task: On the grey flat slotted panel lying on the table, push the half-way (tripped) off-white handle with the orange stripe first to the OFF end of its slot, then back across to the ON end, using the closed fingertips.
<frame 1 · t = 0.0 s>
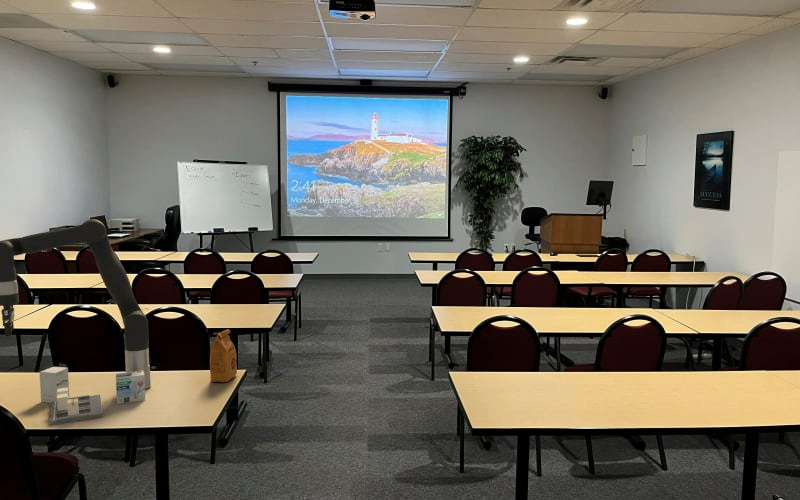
hand: (9, 333, 230), 29 cm above the table, fingers open, 8 cm apart
grey flat slotted panel: (76, 411, 229), on the table
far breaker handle: (63, 395, 232), point 4 cm above the table, slide at 7.0 cm
light bulb box: (131, 400, 241), on the table
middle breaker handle: (62, 402, 226), point 4 cm above the table, slide at 7.0 cm
supplement box: (55, 400, 240), on the table
coffee package: (224, 379, 267), on the table
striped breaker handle: (73, 407, 221), point 4 cm above the table, slide at 3.5 cm
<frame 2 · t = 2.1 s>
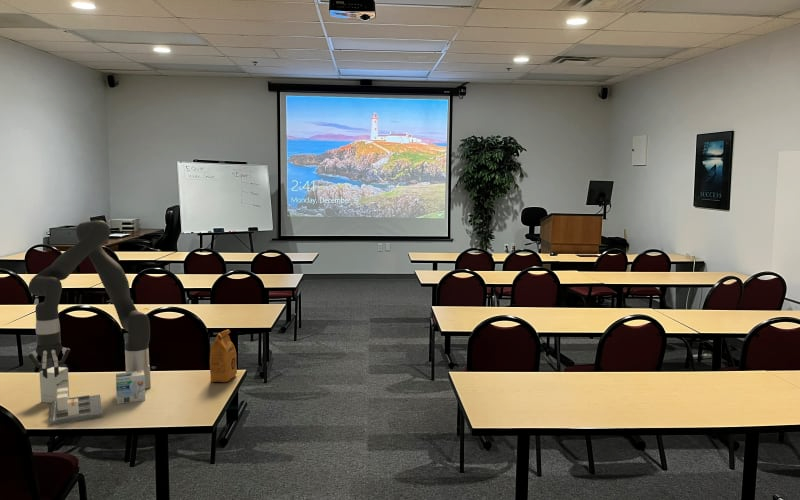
hand: (51, 376, 216), 17 cm above the table, fingers closed
nothing on the table moved.
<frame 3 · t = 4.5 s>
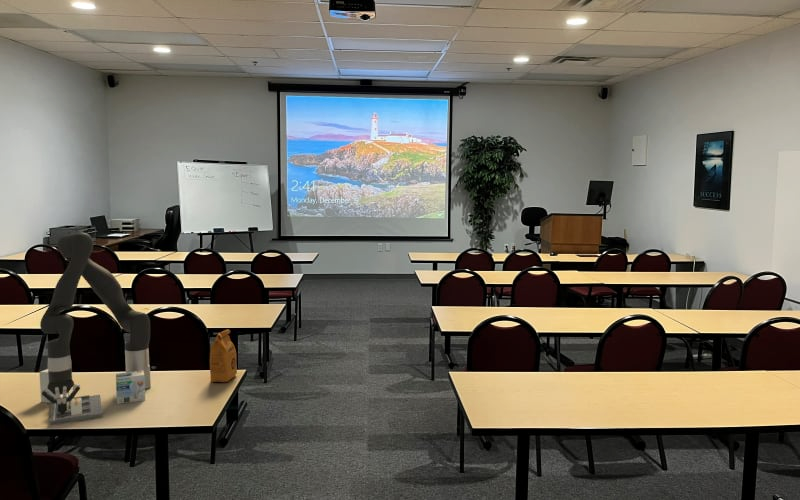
hand: (62, 412, 220), 3 cm above the table, fingers closed
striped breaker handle: (76, 406, 222), point 4 cm above the table, slide at 2.4 cm, touching gripper
everything else where it was.
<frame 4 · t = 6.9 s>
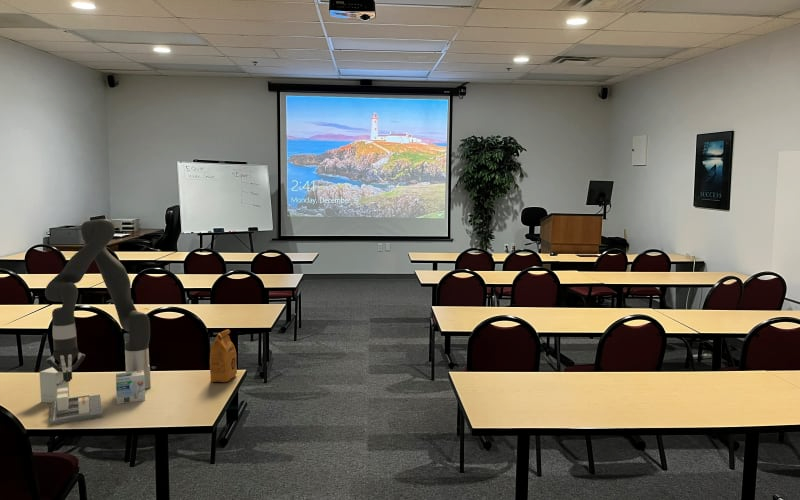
hand: (67, 381, 219), 15 cm above the table, fingers closed
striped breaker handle: (83, 405, 223), point 4 cm above the table, slide at -0.1 cm
everything else where it was.
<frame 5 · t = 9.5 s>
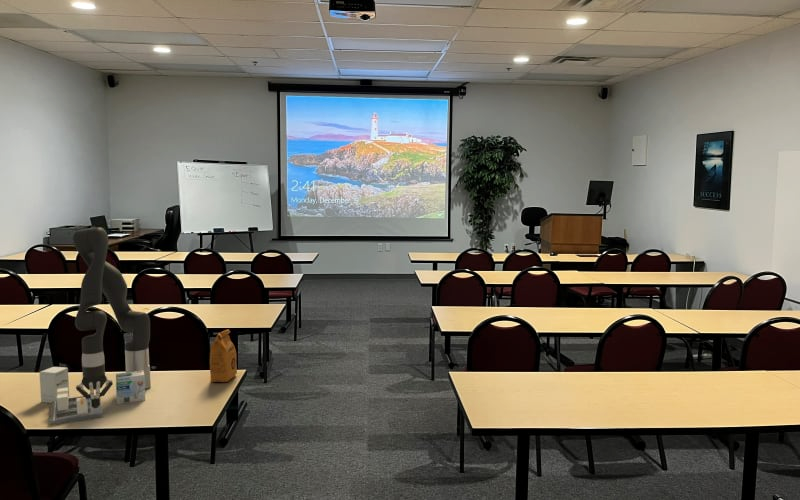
hand: (95, 407, 225), 3 cm above the table, fingers closed
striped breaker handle: (82, 405, 222), point 4 cm above the table, slide at 0.5 cm, touching gripper
everything else where it was.
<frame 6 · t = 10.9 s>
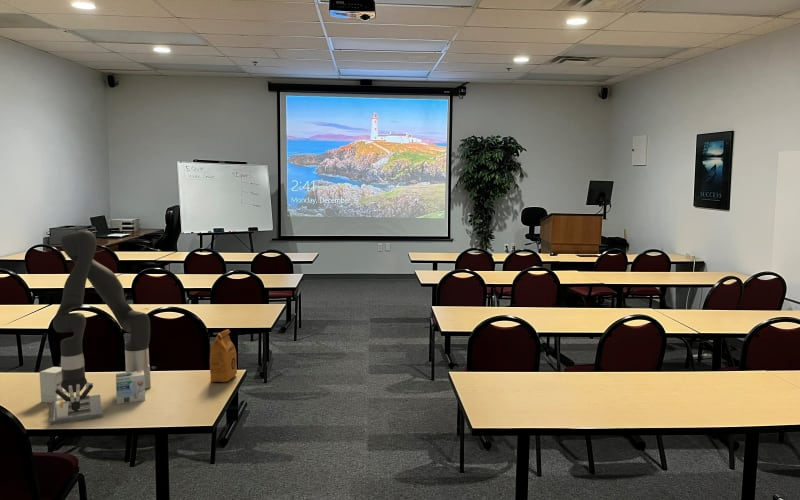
hand: (75, 410, 221), 3 cm above the table, fingers closed
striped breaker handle: (62, 408, 219), point 4 cm above the table, slide at 7.1 cm, touching gripper
everything else where it was.
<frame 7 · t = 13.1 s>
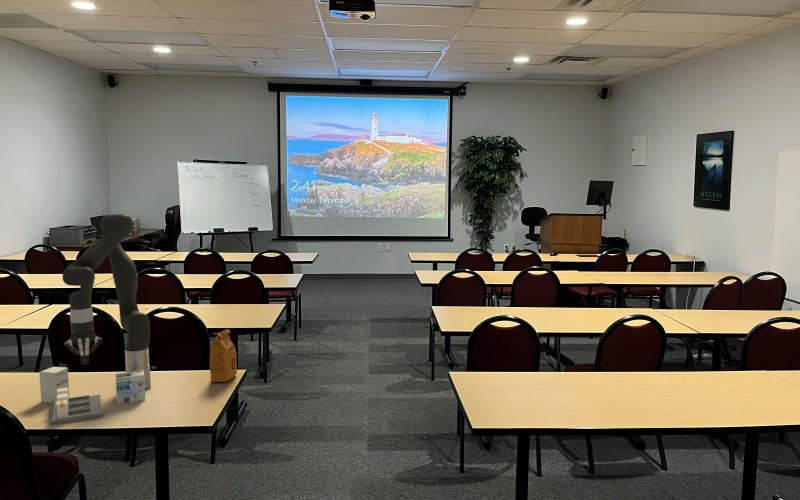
hand: (85, 364, 223), 20 cm above the table, fingers closed
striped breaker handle: (62, 408, 219), point 4 cm above the table, slide at 7.1 cm
everything else where it was.
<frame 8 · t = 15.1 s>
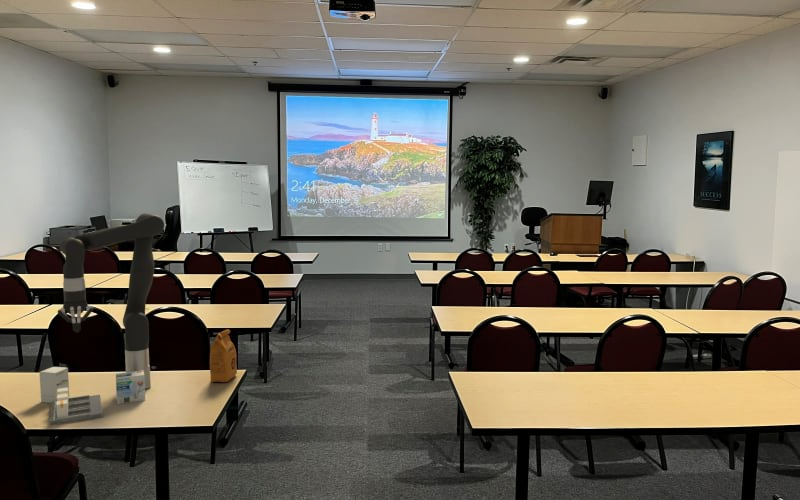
hand: (76, 331, 234), 29 cm above the table, fingers closed
nothing on the table moved.
at the end: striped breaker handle slide at 7.1 cm; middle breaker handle slide at 7.0 cm; the gripper is holding nothing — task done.
